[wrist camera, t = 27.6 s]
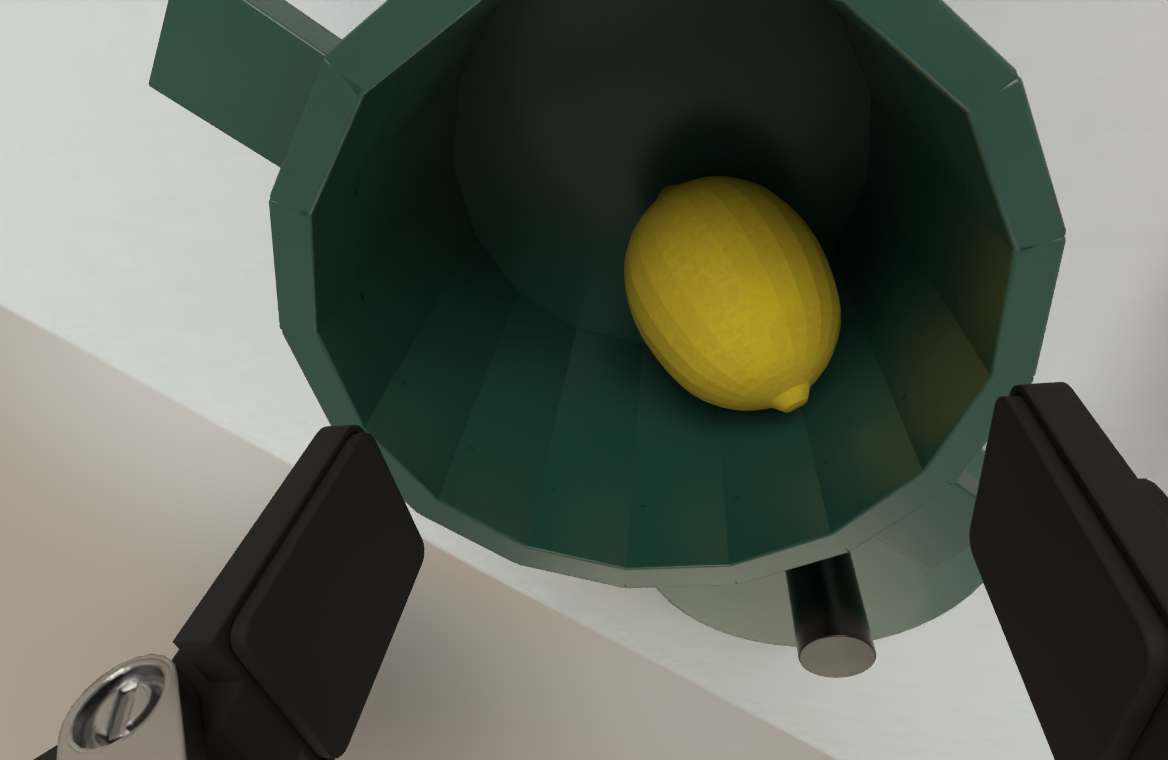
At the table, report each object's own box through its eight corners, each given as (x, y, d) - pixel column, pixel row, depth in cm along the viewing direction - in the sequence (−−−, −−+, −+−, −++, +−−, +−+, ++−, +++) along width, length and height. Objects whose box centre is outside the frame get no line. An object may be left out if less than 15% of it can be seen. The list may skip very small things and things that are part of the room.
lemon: (574, 265, 23) (679, 478, 20) (599, 135, 18) (745, 389, 15) (715, 229, 24) (834, 420, 21) (773, 101, 20) (938, 324, 16)
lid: (808, 313, 25) (844, 433, 19) (1084, 510, 29) (1177, 654, 23) (572, 534, 33) (551, 659, 28) (810, 662, 37) (832, 793, 32)
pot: (502, -341, 16) (276, -626, 7) (1061, 165, 21) (1341, 374, 12) (296, 166, 24) (69, 336, 15) (738, 442, 29) (764, 691, 20)
